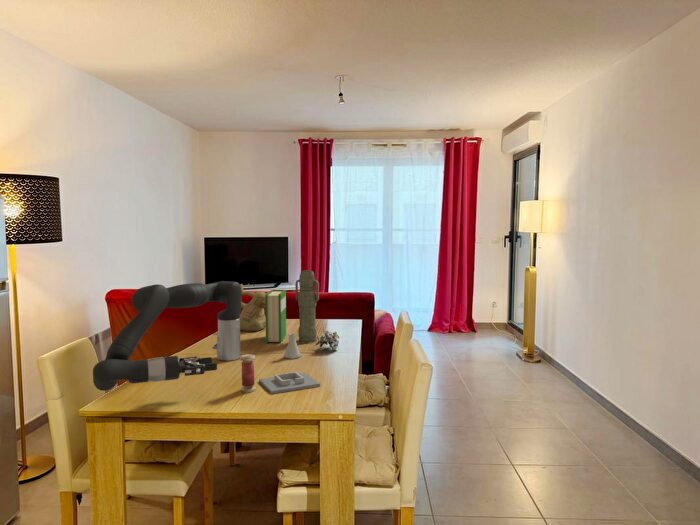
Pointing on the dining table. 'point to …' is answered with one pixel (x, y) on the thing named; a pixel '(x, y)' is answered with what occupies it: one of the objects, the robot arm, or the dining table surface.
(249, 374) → the bobbin
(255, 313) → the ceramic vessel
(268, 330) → the hardback book
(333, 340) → the passion flower
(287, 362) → the dining table surface
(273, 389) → the board
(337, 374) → the dining table surface
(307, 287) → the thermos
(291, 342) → the flask
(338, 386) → the dining table surface
